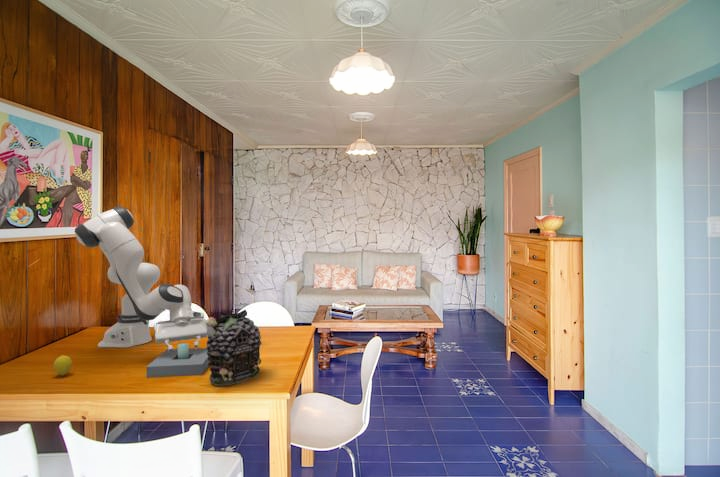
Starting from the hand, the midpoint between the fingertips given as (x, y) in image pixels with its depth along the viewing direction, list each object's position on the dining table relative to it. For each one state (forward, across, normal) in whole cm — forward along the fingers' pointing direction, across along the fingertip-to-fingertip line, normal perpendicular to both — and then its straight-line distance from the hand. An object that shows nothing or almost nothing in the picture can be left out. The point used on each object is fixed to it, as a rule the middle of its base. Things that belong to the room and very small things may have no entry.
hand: (183, 348), depth 154 cm
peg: (+5, 0, +5) cm, 7 cm away
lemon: (-3, -41, +13) cm, 43 cm away
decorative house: (+21, +16, -10) cm, 28 cm away
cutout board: (+5, 0, +5) cm, 7 cm away
